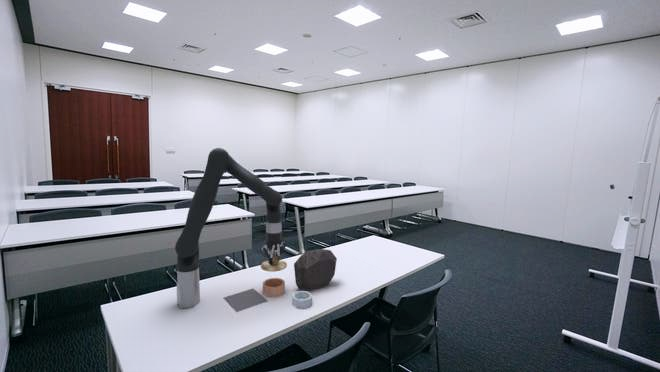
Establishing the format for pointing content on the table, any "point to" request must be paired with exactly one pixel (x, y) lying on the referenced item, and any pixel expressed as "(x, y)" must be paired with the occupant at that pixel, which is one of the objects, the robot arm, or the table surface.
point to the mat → (245, 300)
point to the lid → (274, 265)
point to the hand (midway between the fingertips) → (273, 263)
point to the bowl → (273, 287)
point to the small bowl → (302, 299)
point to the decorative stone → (315, 269)
